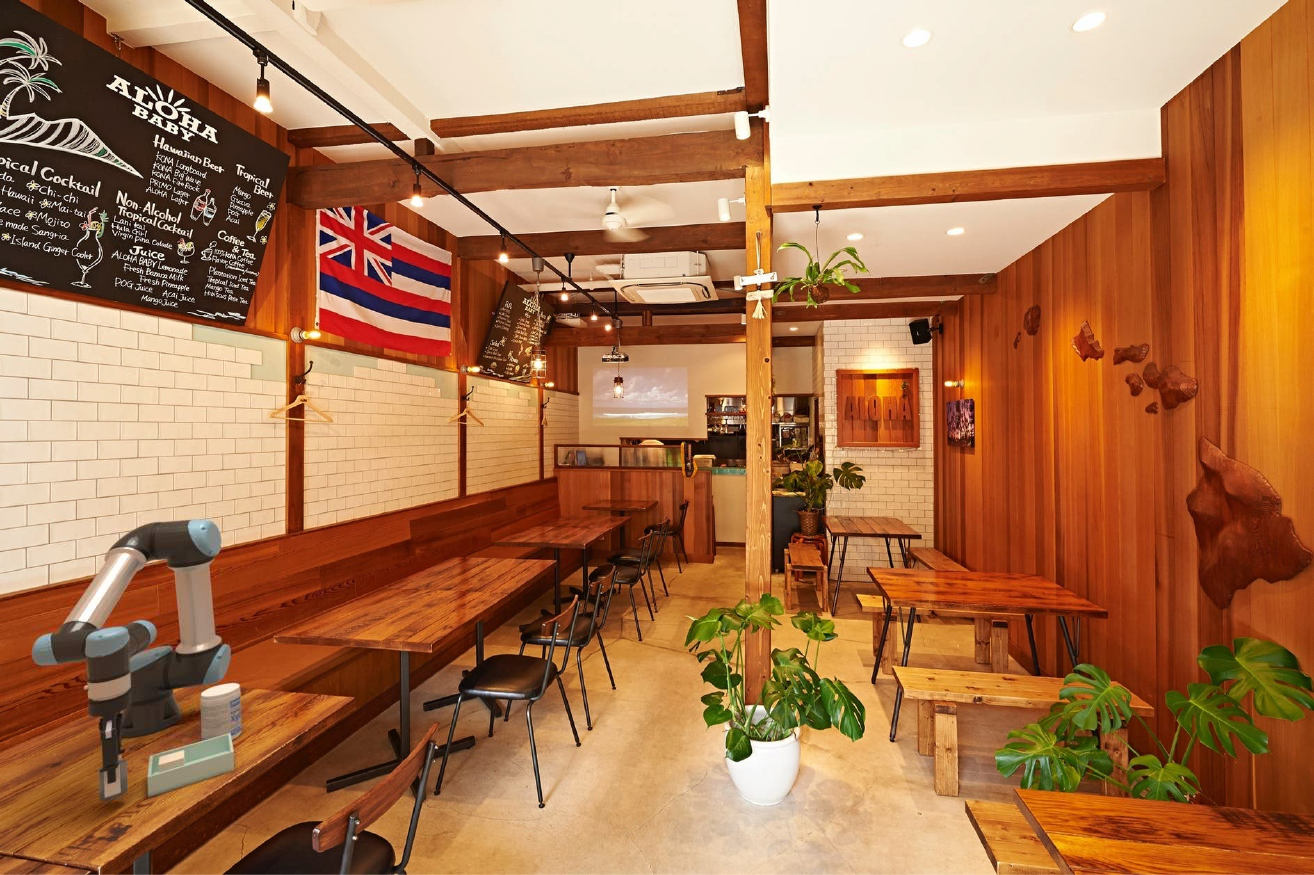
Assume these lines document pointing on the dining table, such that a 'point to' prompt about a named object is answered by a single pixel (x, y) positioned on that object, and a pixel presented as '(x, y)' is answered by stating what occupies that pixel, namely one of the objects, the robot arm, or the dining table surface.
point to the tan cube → (171, 761)
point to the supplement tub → (221, 711)
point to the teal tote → (192, 764)
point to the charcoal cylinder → (122, 782)
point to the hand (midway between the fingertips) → (113, 788)
